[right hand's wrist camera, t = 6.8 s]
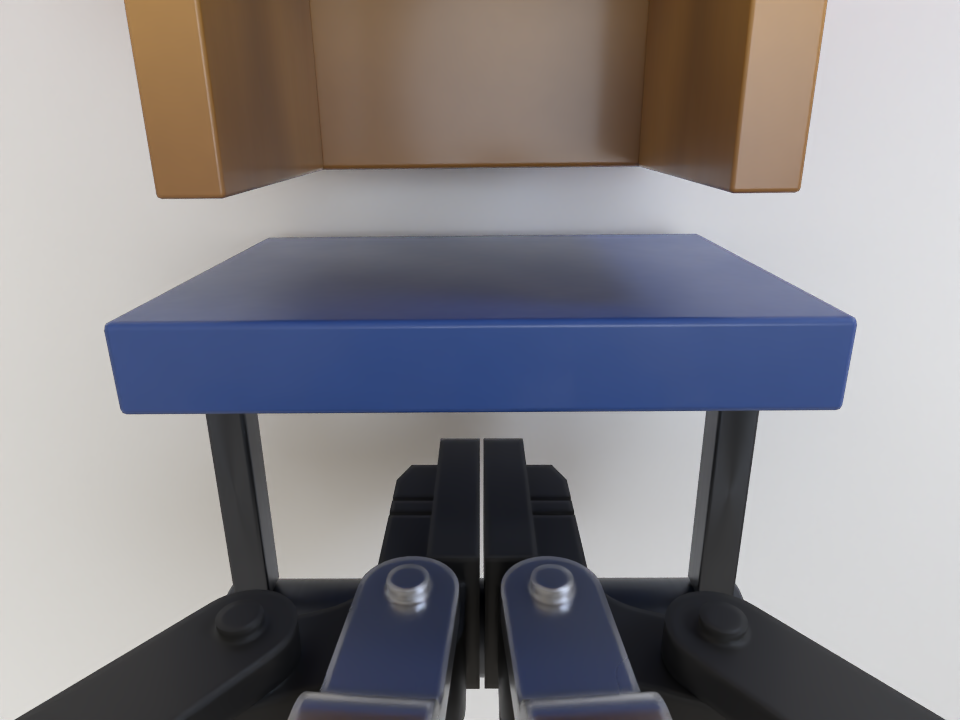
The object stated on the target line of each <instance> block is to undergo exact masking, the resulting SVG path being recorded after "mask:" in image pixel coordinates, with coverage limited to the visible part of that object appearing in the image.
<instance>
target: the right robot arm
mask: <svg viewBox="0 0 960 720" xmlns="http://www.w3.org/2000/svg"><path fill="white" fill-rule="evenodd" d="M483 535H484V661H485V688H499V720H945V719H943V718H941V717H940V716H938V715H936V714H935V713H933V712H931V711H930V710H928V709H926V708H925V707H923V706H921V705H920V704H918V703H916V702H915V701H913V700H911V699H910V698H908V697H906V696H905V695H903V694H901V693H900V692H898V691H896V690H895V689H893V688H891V687H890V686H888V685H886V684H885V683H883V682H881V681H879V680H878V679H876V678H874V677H873V676H871V675H869V674H868V673H866V672H864V671H863V670H861V669H859V668H858V667H856V666H854V665H853V664H851V663H849V662H848V661H846V660H844V659H843V658H841V657H839V656H838V655H836V654H834V653H833V652H831V651H829V650H828V649H826V648H824V647H823V646H821V645H819V644H818V643H816V642H814V641H812V640H811V639H809V638H807V637H806V636H804V635H802V634H801V633H799V632H797V631H796V630H794V629H792V628H791V627H789V626H787V625H786V624H784V623H782V622H781V621H779V620H777V619H776V618H774V617H772V616H771V615H769V614H767V613H766V612H764V611H762V610H761V609H759V608H757V607H756V606H754V605H752V604H750V603H748V602H747V601H745V600H743V599H740V598H738V597H735V596H732V595H729V594H725V593H720V592H714V591H695V592H689V593H686V594H683V595H681V596H679V597H677V598H676V599H674V600H673V601H672V602H671V603H670V605H669V606H668V607H667V610H666V613H665V614H660V613H656V612H652V611H648V610H643V609H639V608H636V607H632V606H629V605H626V604H624V603H621V602H619V601H617V600H615V599H613V598H612V597H610V596H609V595H607V594H606V593H604V591H603V588H602V585H601V583H600V581H599V579H598V578H597V577H596V576H595V574H594V573H593V572H591V571H590V570H589V569H588V568H587V565H586V561H585V557H584V552H583V548H582V544H581V539H580V535H579V531H578V527H577V522H576V518H575V515H574V509H573V505H572V501H571V497H570V492H569V488H568V484H567V480H566V479H565V478H564V477H563V476H562V475H561V474H560V473H559V472H558V471H557V470H556V469H555V468H554V467H553V466H552V465H526V461H525V453H524V445H523V439H484V501H483ZM466 689H480V439H441V441H440V449H439V458H438V465H411V466H410V467H409V468H408V469H407V470H406V471H405V472H404V473H403V474H402V475H401V476H400V477H399V478H398V479H397V482H396V486H395V491H394V495H393V501H392V504H391V509H390V515H389V518H388V522H387V527H386V531H385V536H384V540H383V545H382V549H381V554H380V558H379V562H378V565H377V566H375V567H374V568H372V569H371V570H370V571H369V572H367V573H366V574H365V576H364V577H363V578H362V579H361V581H360V583H359V585H358V588H357V591H356V593H355V596H354V597H353V598H352V599H350V600H348V601H346V602H344V603H341V604H339V605H336V606H333V607H330V608H326V609H322V610H318V611H314V612H310V613H305V614H301V615H297V610H296V607H295V605H294V604H293V602H292V601H291V600H290V599H289V598H287V597H286V596H284V595H282V594H281V593H278V592H275V591H270V590H260V589H254V590H245V591H240V592H235V593H232V594H229V595H226V596H224V597H221V598H219V599H217V600H215V601H213V602H211V603H210V604H208V605H206V606H204V607H203V608H201V609H199V610H198V611H196V612H194V613H193V614H191V615H189V616H188V617H186V618H184V619H183V620H181V621H179V622H178V623H176V624H174V625H173V626H171V627H169V628H168V629H166V630H164V631H163V632H161V633H159V634H158V635H156V636H154V637H153V638H151V639H149V640H148V641H146V642H144V643H143V644H141V645H139V646H137V647H136V648H134V649H132V650H131V651H129V652H127V653H126V654H124V655H122V656H121V657H119V658H117V659H116V660H114V661H112V662H111V663H109V664H107V665H106V666H104V667H102V668H101V669H99V670H97V671H96V672H94V673H92V674H91V675H89V676H87V677H86V678H84V679H82V680H81V681H79V682H77V683H76V684H74V685H72V686H70V687H69V688H67V689H65V690H64V691H62V692H60V693H59V694H57V695H55V696H54V697H52V698H50V699H49V700H47V701H45V702H44V703H42V704H40V705H39V706H37V707H35V708H34V709H32V710H30V711H29V712H27V713H25V714H24V715H22V716H20V717H19V718H17V719H15V720H463V719H464V716H465V707H466Z"/></svg>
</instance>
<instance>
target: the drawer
mask: <svg viewBox="0 0 960 720" xmlns="http://www.w3.org/2000/svg"><path fill="white" fill-rule="evenodd" d="M827 1H828V0H124V3H125V9H126V15H127V21H128V27H129V33H130V39H131V45H132V51H133V57H134V63H135V69H136V75H137V81H138V87H139V93H140V99H141V105H142V111H143V117H144V123H145V129H146V135H147V141H148V147H149V153H150V159H151V164H152V170H153V176H154V182H155V188H156V194H157V196H158V197H159V198H161V199H205V198H225V197H229V196H232V195H236V194H239V193H243V192H246V191H250V190H253V189H257V188H260V187H264V186H267V185H271V184H274V183H278V182H281V181H285V180H288V179H292V178H295V177H299V176H302V175H306V174H309V173H313V172H316V171H320V170H342V169H436V168H530V167H624V166H641V167H644V168H647V169H651V170H654V171H658V172H661V173H665V174H668V175H672V176H675V177H679V178H682V179H686V180H689V181H693V182H696V183H700V184H703V185H707V186H710V187H714V188H717V189H721V190H724V191H728V192H731V193H795V192H797V191H799V190H800V187H801V180H802V174H803V167H804V160H805V153H806V146H807V139H808V132H809V125H810V118H811V111H812V104H813V97H814V91H815V84H816V77H817V70H818V63H819V56H820V49H821V42H822V35H823V28H824V21H825V14H826V8H827ZM856 327H857V323H856V319H855V318H854V317H852V316H850V315H849V314H847V313H845V312H843V311H841V310H839V309H837V308H835V307H833V306H832V305H830V304H828V303H826V302H824V301H822V300H820V299H818V298H816V297H815V296H813V295H811V294H809V293H807V292H805V291H803V290H801V289H800V288H798V287H796V286H794V285H792V284H790V283H788V282H786V281H784V280H783V279H781V278H779V277H777V276H775V275H773V274H771V273H769V272H767V271H766V270H764V269H762V268H760V267H758V266H756V265H754V264H752V263H751V262H749V261H747V260H745V259H743V258H741V257H739V256H737V255H735V254H734V253H732V252H730V251H728V250H726V249H724V248H722V247H720V246H718V245H717V244H715V243H713V242H711V241H709V240H707V239H705V238H703V237H702V236H700V235H697V234H636V235H529V236H422V237H315V238H268V239H266V240H264V241H262V242H260V243H258V244H256V245H254V246H252V247H250V248H249V249H247V250H245V251H243V252H241V253H239V254H237V255H235V256H233V257H232V258H230V259H228V260H226V261H224V262H222V263H220V264H218V265H216V266H214V267H213V268H211V269H209V270H207V271H205V272H203V273H201V274H199V275H197V276H196V277H194V278H192V279H190V280H188V281H186V282H184V283H182V284H180V285H178V286H177V287H175V288H173V289H171V290H169V291H167V292H165V293H163V294H161V295H160V296H158V297H156V298H154V299H152V300H150V301H148V302H146V303H144V304H143V305H141V306H139V307H137V308H135V309H133V310H131V311H129V312H127V313H125V314H124V315H122V316H120V317H118V318H116V319H114V320H112V321H110V322H108V323H107V324H106V325H105V330H104V332H105V336H106V341H107V346H108V351H109V356H110V361H111V365H112V370H113V375H114V380H115V385H116V390H117V394H118V399H119V404H120V409H121V411H122V412H123V413H125V414H206V419H207V425H208V432H209V438H210V444H211V450H212V456H213V463H214V469H215V475H216V481H217V487H218V494H219V500H220V506H221V512H222V519H223V525H224V531H225V537H226V543H227V550H228V556H229V562H230V568H231V574H232V581H233V586H232V587H231V589H230V590H229V592H228V594H227V595H229V594H232V593H235V592H240V591H245V590H254V589H260V590H270V591H275V592H278V593H281V594H282V595H284V596H286V597H287V598H289V599H290V600H291V601H292V602H293V604H294V605H295V607H296V610H297V615H301V614H305V613H310V612H314V611H318V610H322V609H326V608H330V607H333V606H336V605H339V604H341V603H344V602H346V601H348V600H350V599H352V598H353V597H354V596H355V593H356V591H357V588H358V585H359V583H360V581H361V579H278V578H279V573H278V566H277V558H276V551H275V543H274V536H273V528H272V521H271V513H270V506H269V498H268V491H267V483H266V476H265V468H264V461H263V453H262V446H261V438H260V430H259V423H258V415H257V413H409V412H577V411H706V418H705V427H704V436H703V445H702V454H701V463H700V472H699V481H698V490H697V499H696V509H695V518H694V527H693V536H692V545H691V554H690V563H689V572H688V577H689V578H598V579H599V581H600V583H601V585H602V588H603V591H604V593H606V594H607V595H609V596H610V597H612V598H613V599H615V600H617V601H619V602H621V603H624V604H626V605H629V606H632V607H636V608H639V609H643V610H648V611H652V612H656V613H660V614H665V613H666V610H667V607H668V606H669V605H670V603H671V602H672V601H673V600H674V599H676V598H677V597H679V596H681V595H683V594H686V593H689V592H695V591H714V592H720V593H725V594H729V595H732V596H735V597H738V598H740V599H743V597H742V595H741V593H740V591H739V589H738V587H737V585H736V584H735V580H736V573H737V565H738V558H739V551H740V544H741V537H742V530H743V522H744V515H745V508H746V501H747V494H748V487H749V479H750V472H751V465H752V458H753V451H754V444H755V436H756V429H757V422H758V415H759V410H837V409H840V408H841V406H842V403H843V398H844V392H845V387H846V381H847V376H848V370H849V365H850V360H851V354H852V349H853V343H854V338H855V332H856ZM480 677H485V661H484V578H480Z"/></svg>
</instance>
